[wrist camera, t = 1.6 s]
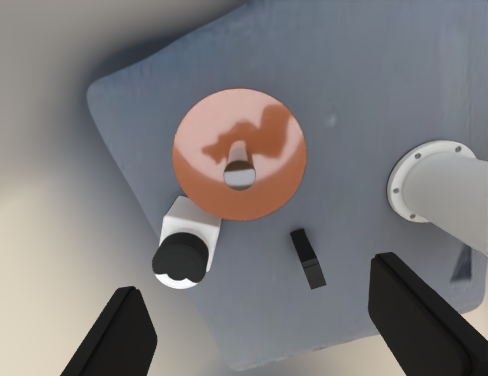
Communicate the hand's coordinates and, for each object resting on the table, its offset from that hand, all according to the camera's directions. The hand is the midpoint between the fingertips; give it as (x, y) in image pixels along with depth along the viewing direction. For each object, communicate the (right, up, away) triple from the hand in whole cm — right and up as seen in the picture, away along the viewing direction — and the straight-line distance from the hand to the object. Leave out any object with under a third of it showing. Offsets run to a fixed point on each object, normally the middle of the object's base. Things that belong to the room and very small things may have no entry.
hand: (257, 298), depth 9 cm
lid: (-1, +7, +14) cm, 16 cm away
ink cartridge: (+9, -4, +29) cm, 31 cm away
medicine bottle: (-8, -1, +27) cm, 28 cm away
